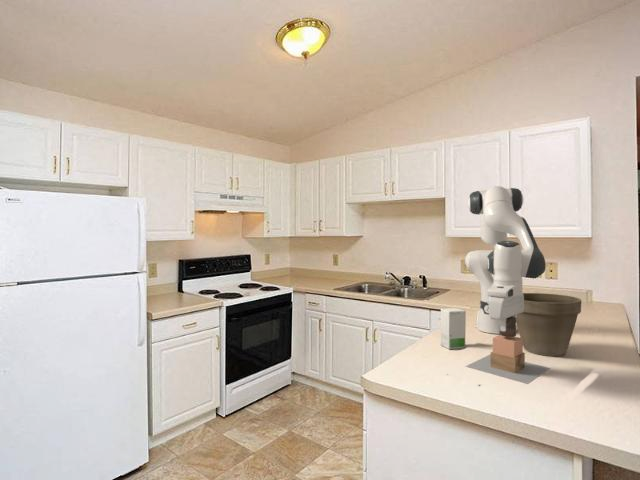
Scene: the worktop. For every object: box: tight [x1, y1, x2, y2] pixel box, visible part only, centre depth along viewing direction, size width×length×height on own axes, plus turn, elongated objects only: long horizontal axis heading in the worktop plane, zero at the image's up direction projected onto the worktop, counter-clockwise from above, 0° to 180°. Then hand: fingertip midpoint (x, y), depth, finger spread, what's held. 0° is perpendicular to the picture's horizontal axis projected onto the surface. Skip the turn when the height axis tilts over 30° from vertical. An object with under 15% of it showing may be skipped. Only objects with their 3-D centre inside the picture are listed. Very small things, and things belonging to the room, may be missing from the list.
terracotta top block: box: [492, 334, 524, 357], centre depth 127 cm, size 7×7×5 cm
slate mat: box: [464, 353, 551, 385], centre depth 127 cm, size 20×20×2 cm
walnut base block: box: [490, 351, 526, 373], centre depth 127 cm, size 8×8×5 cm
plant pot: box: [516, 292, 582, 357], centre depth 149 cm, size 25×25×22 cm
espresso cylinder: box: [498, 317, 517, 337], centre depth 127 cm, size 5×5×6 cm
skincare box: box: [439, 307, 467, 350], centre depth 155 cm, size 8×7×16 cm
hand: (507, 329), depth 127 cm, fingers closed on espresso cylinder, 5 cm apart
